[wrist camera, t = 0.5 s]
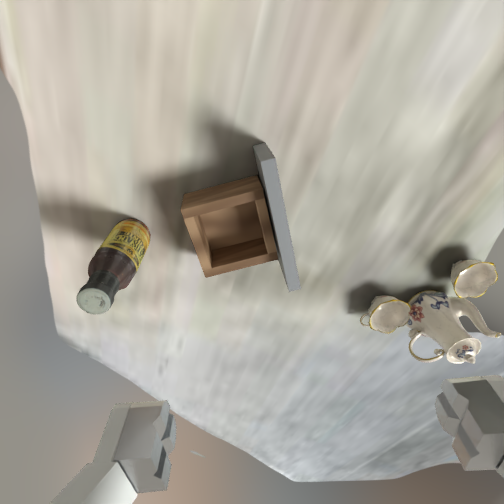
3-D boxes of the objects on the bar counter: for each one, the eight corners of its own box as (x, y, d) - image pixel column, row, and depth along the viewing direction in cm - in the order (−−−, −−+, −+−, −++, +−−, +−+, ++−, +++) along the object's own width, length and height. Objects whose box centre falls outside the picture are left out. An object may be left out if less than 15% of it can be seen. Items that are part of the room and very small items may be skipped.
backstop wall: (252, 145, 52) (260, 161, 43) (264, 142, 52) (275, 157, 43) (278, 260, 63) (289, 291, 54) (288, 257, 63) (300, 288, 54)
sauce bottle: (159, 234, 58) (136, 306, 41) (134, 255, 59) (102, 332, 42) (130, 207, 55) (92, 273, 38) (104, 230, 56) (57, 302, 39)
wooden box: (184, 194, 55) (180, 210, 49) (257, 174, 54) (262, 188, 48) (206, 256, 61) (205, 277, 55) (272, 239, 61) (278, 259, 54)
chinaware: (471, 233, 66) (541, 271, 51) (492, 292, 73) (560, 342, 58) (346, 298, 71) (376, 350, 56) (376, 348, 78) (410, 408, 63)
